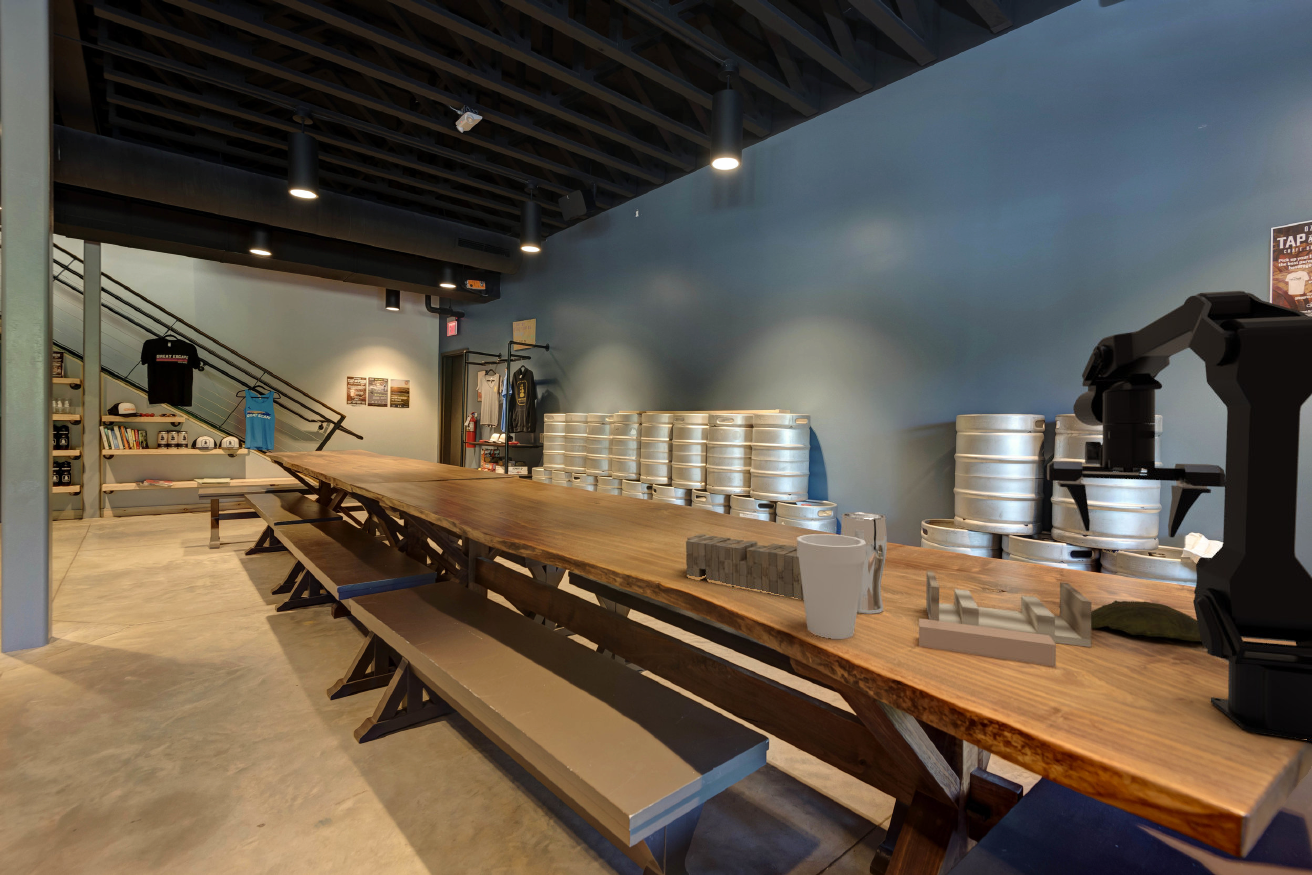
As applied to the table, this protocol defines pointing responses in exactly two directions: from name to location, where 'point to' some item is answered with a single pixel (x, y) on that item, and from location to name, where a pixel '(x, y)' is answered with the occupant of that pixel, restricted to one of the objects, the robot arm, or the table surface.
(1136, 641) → the table surface
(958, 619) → the drying rack
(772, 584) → the block tower
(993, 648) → the clay strip
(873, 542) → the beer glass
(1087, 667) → the table surface
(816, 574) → the foam cup
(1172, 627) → the pottery fragment
